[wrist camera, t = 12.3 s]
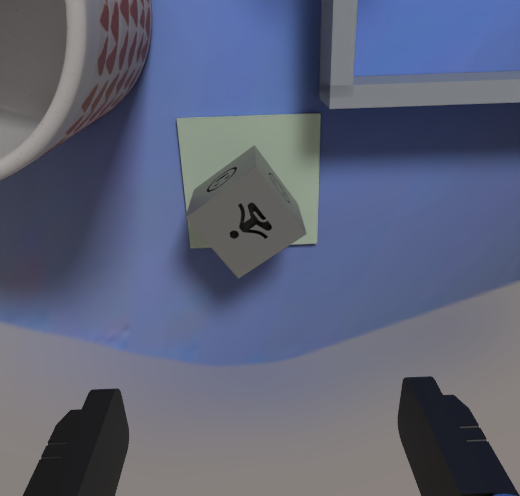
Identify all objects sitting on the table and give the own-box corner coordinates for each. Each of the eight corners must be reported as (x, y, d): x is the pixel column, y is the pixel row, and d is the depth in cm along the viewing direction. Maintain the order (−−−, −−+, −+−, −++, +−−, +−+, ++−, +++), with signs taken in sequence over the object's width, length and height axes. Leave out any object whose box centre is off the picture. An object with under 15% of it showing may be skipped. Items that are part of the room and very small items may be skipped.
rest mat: (320, 113, 29) (320, 113, 29) (316, 241, 33) (317, 243, 33) (177, 118, 29) (176, 118, 29) (190, 246, 33) (190, 248, 32)
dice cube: (297, 203, 31) (306, 234, 27) (239, 243, 32) (238, 278, 28) (254, 144, 29) (256, 166, 25) (194, 189, 31) (185, 217, 26)
